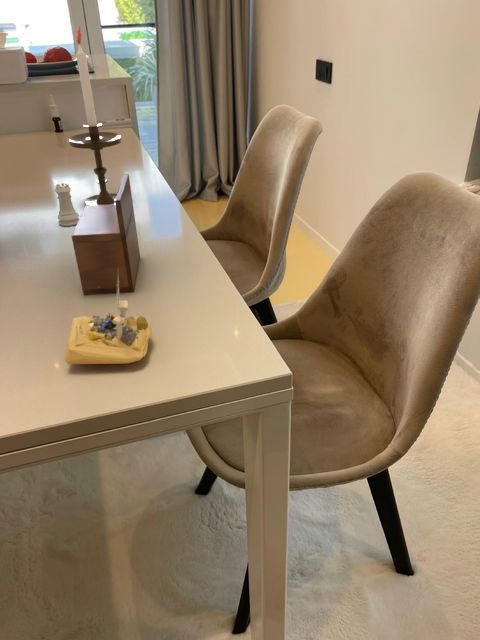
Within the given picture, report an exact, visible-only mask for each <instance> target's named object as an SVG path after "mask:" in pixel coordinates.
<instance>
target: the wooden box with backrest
mask: <svg viewBox="0 0 480 640" xmlns="http://www.w3.org/2000/svg"><path fill="white" fill-rule="evenodd" d="M116 194H117V196H116V199H115V204H111V205H89V206H85V205H84V208H83V210H82V213H81V215H79V221H78V223H77V225H75V227H74V229H73V231H72V233H71V241H72V245H73V250H74V256H75V261H76V264H77V269H78V276H79V280H80V285H81V289H82V294H83V295H84V296H86V295H103V294H117V284H118V276H119V286H118V288H119V294H120V293H121V294H122V293H135V289H136V284H137V278H138V273H139V272H138V271H139V266H140V261H141V252H140V245H139V238H138V231H137V224H136V216H135V210H134V209H135V208H134V202H133V195H132V189H131V182H130V174H129V173H124V174H123V176H122V179H121V182H120V185H119V187H118V191H117V193H116ZM98 286H99V288H98Z"/></svg>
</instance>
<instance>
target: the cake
mask: <svg viewBox="0 0 480 640" xmlns="http://www.w3.org/2000/svg"><path fill="white" fill-rule="evenodd" d="M118 286H119V276H118V284H117V293H116V309H117V314H119V315H114V314H113V313H109V312H107V313H106V316H100V315H92V316H88V315H86V314H85V315H81V316H77V317H75V318H73V319H72V321H71V327H70V332H69V336H68V341H67V346H66V353H65V363H66V364H67V365H107V364H109V365H110V364H112V365H113V364H114V365H116V364H120V365H121V364H131V363H136V362H139V361H141V360H142V359H143V358H144V357H146V355H147V353H148V348H149V340H150V338H151V337H152V328H151V326H150V325H149V323H148V321H147V319H146V317H145V316H142V315H140V316H137V315H136V316H135V317H134V316H133V315H130V316H128V315H127V314H126V313H127V312H126V311H128V310H129V301H128V300H121V298H122V297H120V293H119V288H118ZM98 288H99V286H98ZM126 315H127V316H126Z"/></svg>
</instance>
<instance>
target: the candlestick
mask: <svg viewBox="0 0 480 640" xmlns="http://www.w3.org/2000/svg"><path fill="white" fill-rule="evenodd" d="M76 34H77V36H76V43H77V44H78V45H77V52H76V53H75V56H76V61H77V62H76V63H77V68H78V74H79V79H80V85H81V92H82V97H83V104H84V109H85V115H86V121H87V123H84V124H82V126H83V127H87V130H88V132H85V133H79V134H75V135H71V136H70V137H69V138H68V143H69V144H68V145H69V147H72V148H75V149H86V150H87V149H89V150H90V151H93V154H94V160H95V167H94V168H93V172H94V174H95V175H96V176H97V179H96V184H98V185H99V189H100V192H99V194H95V195H94V194H93V195H91V196H89V197H87V198H86V199H84V206H85V205H86V206H89V205H111V204H115V199H116V196H117V193H110V192H109V191H108V189H107V185H106V184H107V183H108V182H109V181H108V179H106V174H107V171H108V169H107V167H105V166H103V159H102V154H101V153H102V152H101V150H103V149H104V148H109V147H113V146H116V145H120V143H122V135H121V134H120V133H116V132H110V131H99V127H100V126H102V125H103V123H102V122H98V120H97V115H96V108H95V103H94V96H93V90H92V84H91V78H90V77H91V76H90V72H89V66H88V59H87V52H84V50H83V48H82V44H81V43H82V42H81V41H82V33H81V27H80V26H78V29H77V31H76Z"/></svg>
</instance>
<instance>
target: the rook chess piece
mask: <svg viewBox="0 0 480 640" xmlns="http://www.w3.org/2000/svg"><path fill="white" fill-rule="evenodd" d="M54 186H55V188H54V193H56V195H57V196H56V199H58V207H59V211H58V215H57V219H58V222H57V223H58V224H59V225H60V226H61V227H74V226H76V225H77V223H78V221H79V219H80V214H79V213H78V212H77V210H76V209H75V207H74V204H73V202H72V195H71V191H72V188H71V187H70V186H69V183H66V182H65V183H64V182H62V183H61V184H60V183H57V184H55V185H54Z"/></svg>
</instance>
